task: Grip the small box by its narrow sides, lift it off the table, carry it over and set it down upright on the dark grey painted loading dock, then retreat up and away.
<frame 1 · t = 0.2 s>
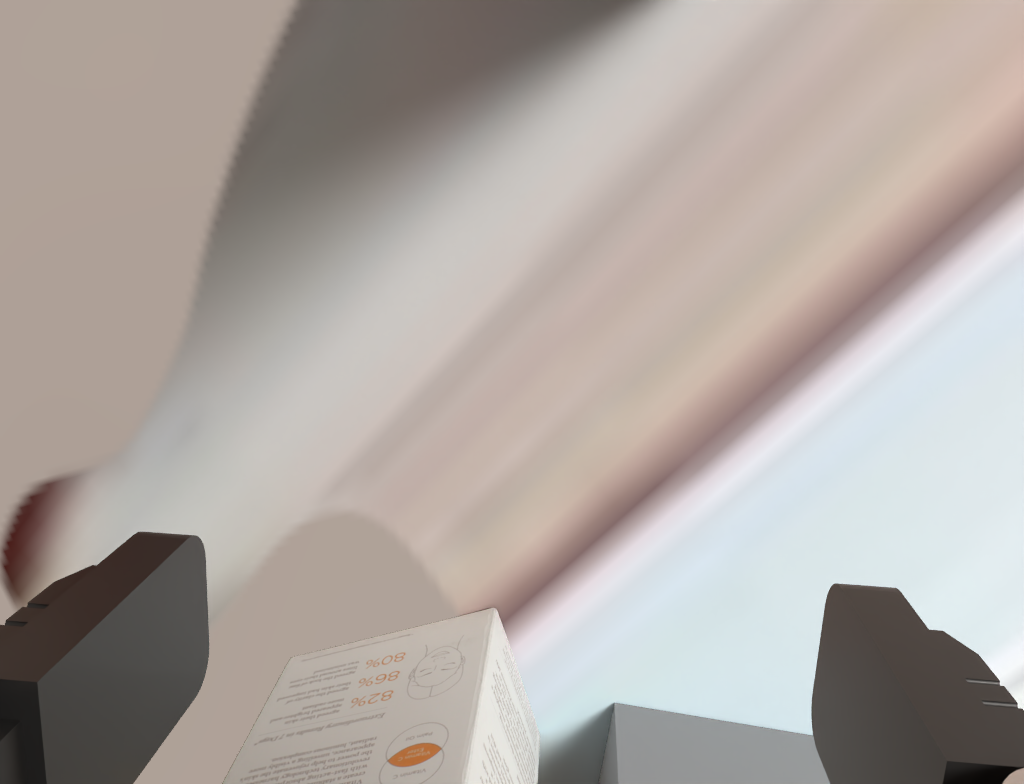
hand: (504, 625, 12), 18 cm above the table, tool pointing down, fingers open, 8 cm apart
small box: (418, 690, 33), on the table
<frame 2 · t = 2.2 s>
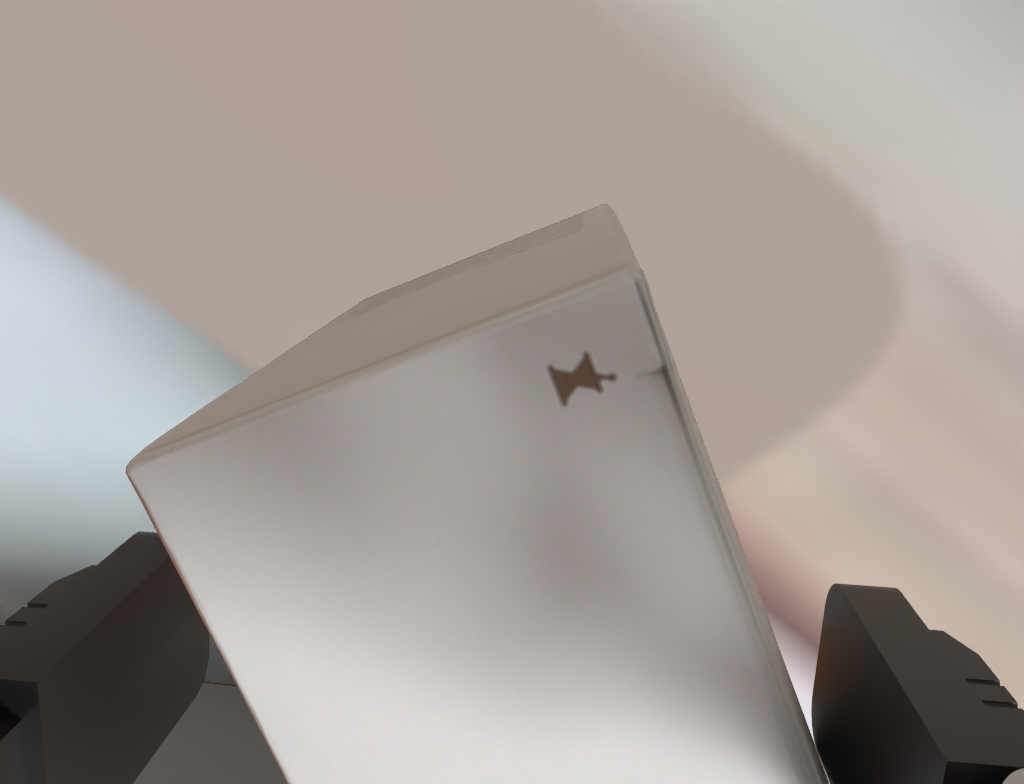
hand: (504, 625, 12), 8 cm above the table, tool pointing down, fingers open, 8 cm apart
small box: (555, 422, 20), on the table, touching gripper
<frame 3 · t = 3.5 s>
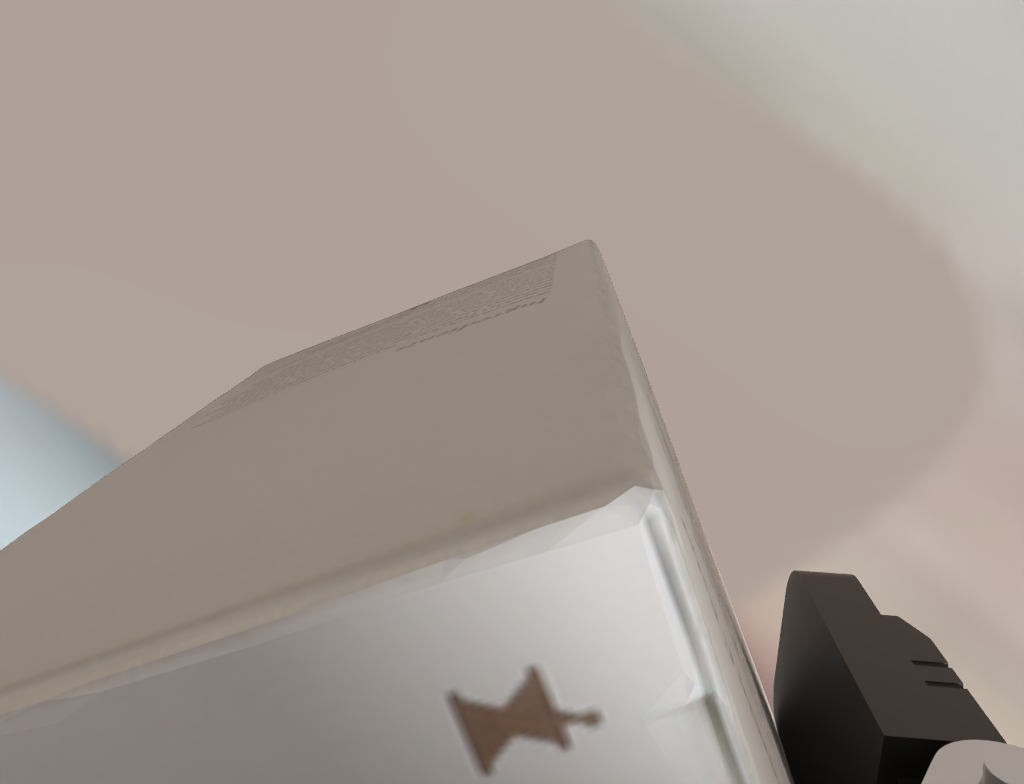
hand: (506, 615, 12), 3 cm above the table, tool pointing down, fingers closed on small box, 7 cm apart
small box: (522, 523, 15), on the table, touching gripper
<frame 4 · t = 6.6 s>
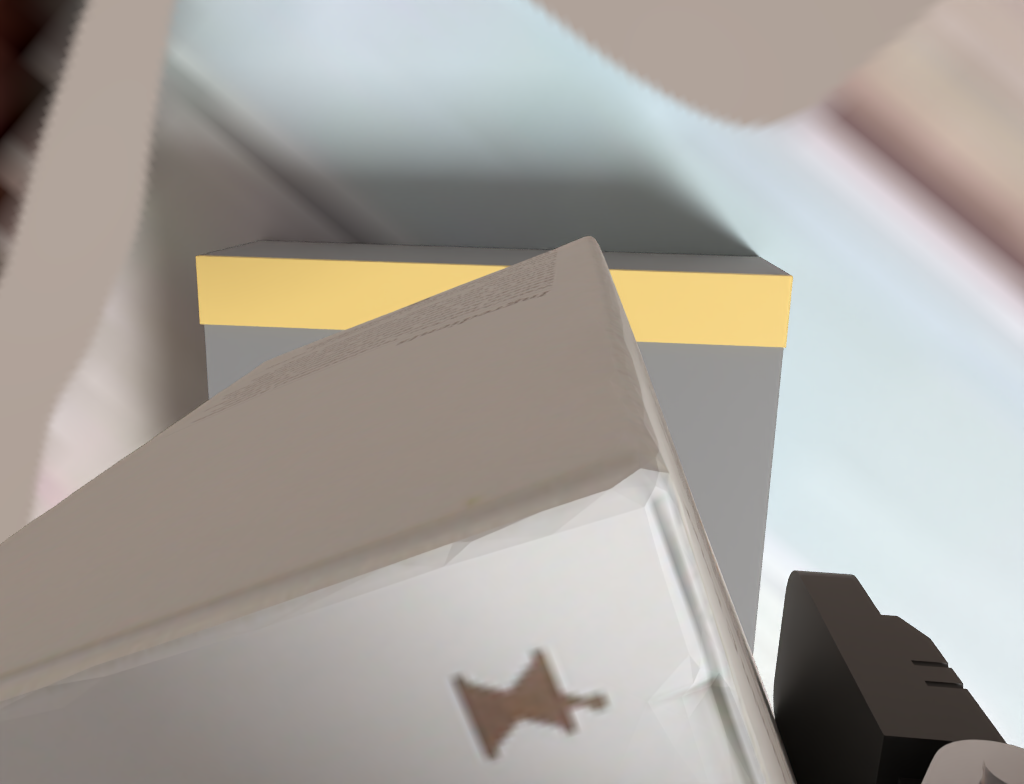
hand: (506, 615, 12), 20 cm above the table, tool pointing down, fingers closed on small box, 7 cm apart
loading dock: (499, 471, 33), on the table
small box: (522, 519, 15), point 17 cm above the table, touching gripper
when the fingers open (9 cm above the table, at t = 10.0 s): small box drops 1 cm, resting on loading dock.
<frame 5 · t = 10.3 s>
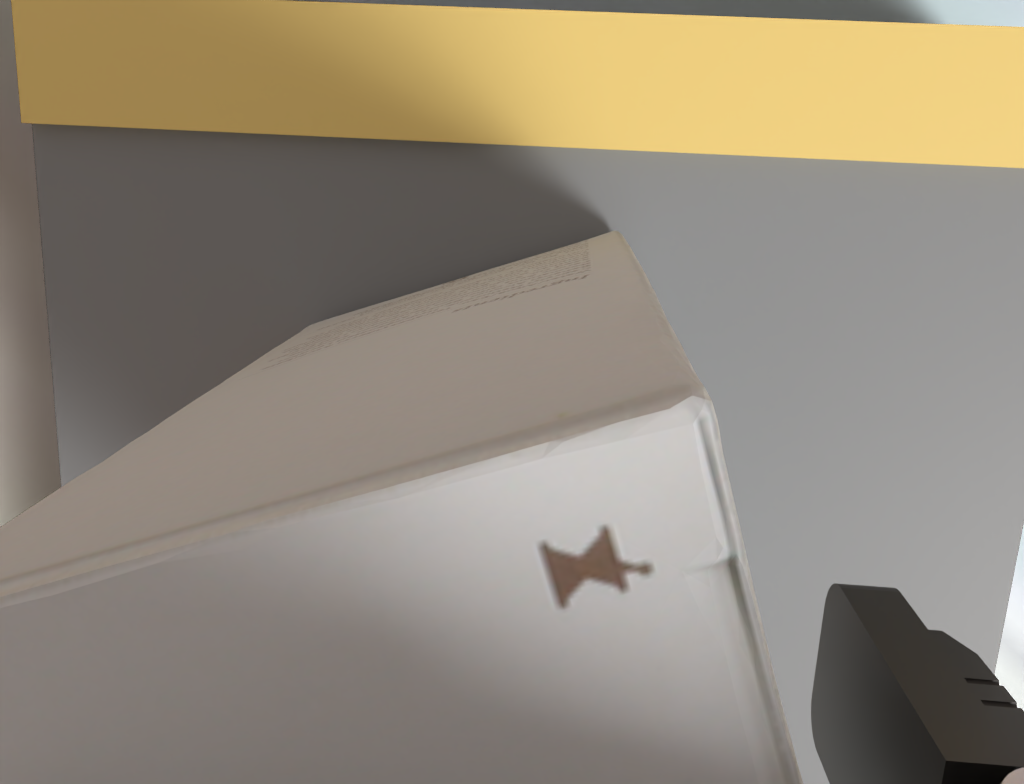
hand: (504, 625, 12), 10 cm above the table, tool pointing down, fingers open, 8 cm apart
loading dock: (538, 421, 21), on the table
small box: (534, 487, 16), point 5 cm above the table, touching loading dock
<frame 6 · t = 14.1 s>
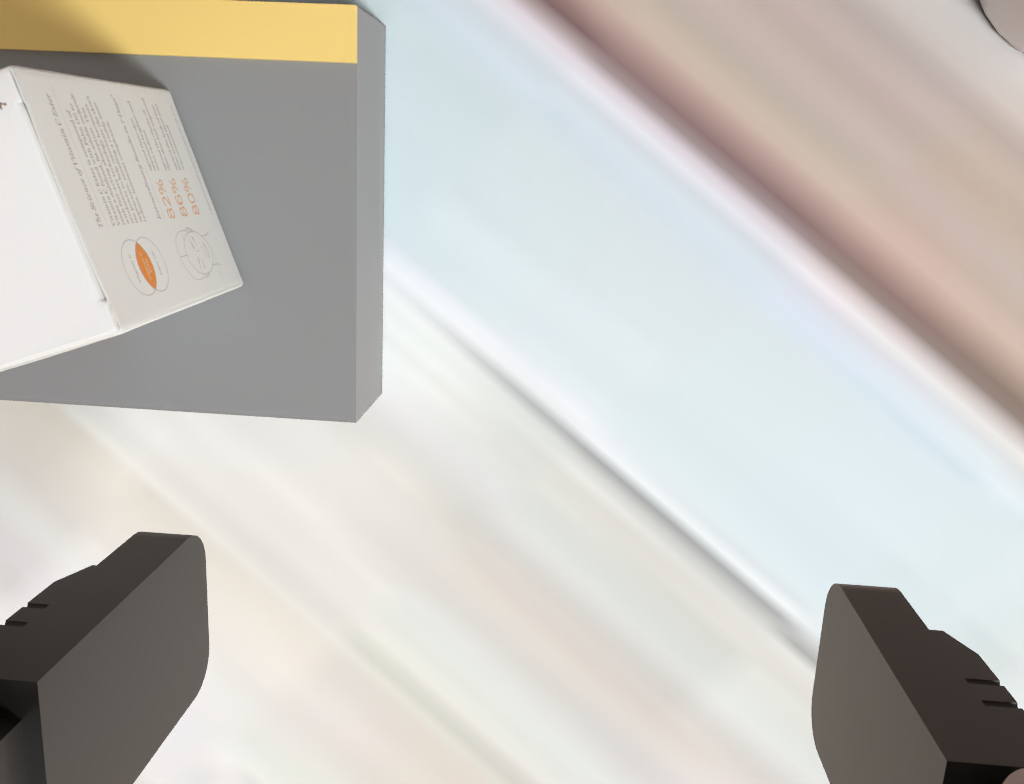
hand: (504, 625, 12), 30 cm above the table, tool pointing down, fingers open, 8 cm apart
loading dock: (196, 208, 41), on the table
small box: (150, 211, 36), point 5 cm above the table, touching loading dock
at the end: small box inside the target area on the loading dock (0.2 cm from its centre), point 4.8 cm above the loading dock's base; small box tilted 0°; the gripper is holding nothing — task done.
